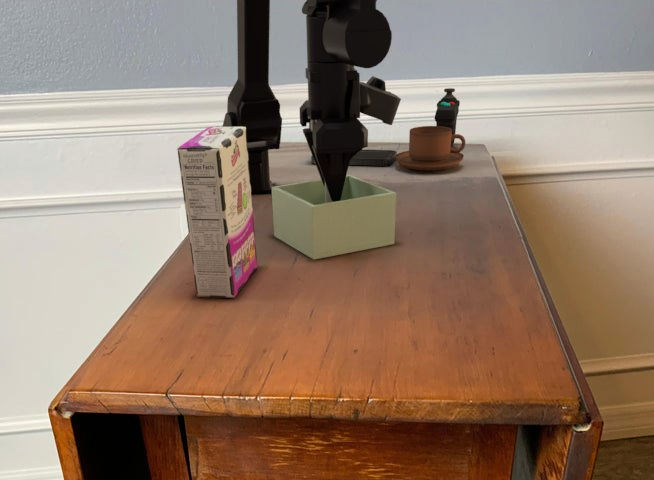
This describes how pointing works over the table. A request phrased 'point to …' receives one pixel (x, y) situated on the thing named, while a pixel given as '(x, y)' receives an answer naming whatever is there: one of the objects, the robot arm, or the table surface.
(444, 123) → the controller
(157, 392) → the table surface
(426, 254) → the table surface
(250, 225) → the candy bar box
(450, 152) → the cup and saucer
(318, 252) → the open square storage bin
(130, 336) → the table surface
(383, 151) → the phone
